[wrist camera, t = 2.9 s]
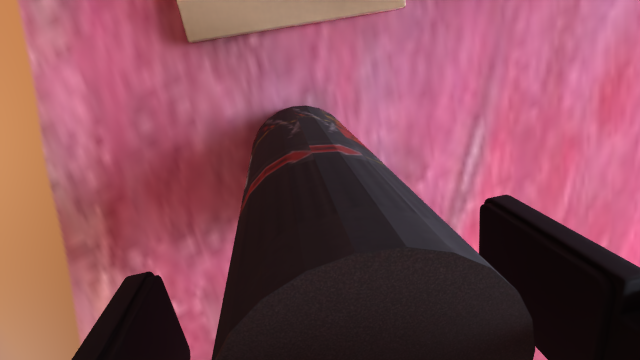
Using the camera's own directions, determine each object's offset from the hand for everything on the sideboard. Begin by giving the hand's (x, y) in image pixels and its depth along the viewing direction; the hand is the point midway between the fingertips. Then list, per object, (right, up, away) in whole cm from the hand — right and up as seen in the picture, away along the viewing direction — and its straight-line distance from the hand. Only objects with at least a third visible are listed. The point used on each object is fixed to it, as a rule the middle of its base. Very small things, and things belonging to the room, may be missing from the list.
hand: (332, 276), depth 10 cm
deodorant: (-1, +4, +10) cm, 11 cm away
